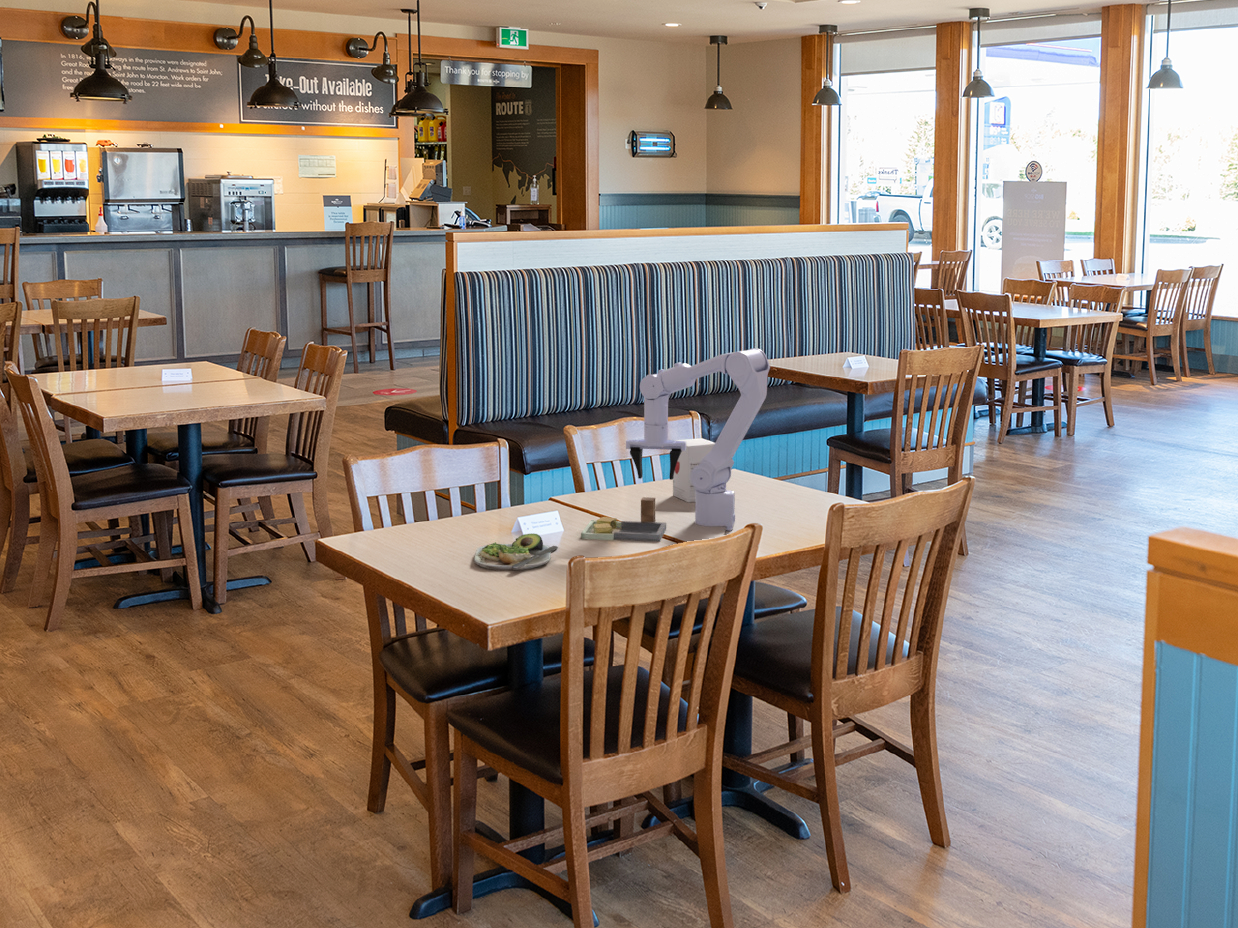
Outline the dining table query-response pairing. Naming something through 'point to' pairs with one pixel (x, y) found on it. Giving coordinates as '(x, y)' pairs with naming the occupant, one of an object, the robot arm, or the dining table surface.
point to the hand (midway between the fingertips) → (655, 478)
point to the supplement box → (689, 467)
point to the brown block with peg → (647, 509)
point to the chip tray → (600, 536)
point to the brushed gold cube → (608, 521)
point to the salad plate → (515, 553)
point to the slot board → (640, 531)
